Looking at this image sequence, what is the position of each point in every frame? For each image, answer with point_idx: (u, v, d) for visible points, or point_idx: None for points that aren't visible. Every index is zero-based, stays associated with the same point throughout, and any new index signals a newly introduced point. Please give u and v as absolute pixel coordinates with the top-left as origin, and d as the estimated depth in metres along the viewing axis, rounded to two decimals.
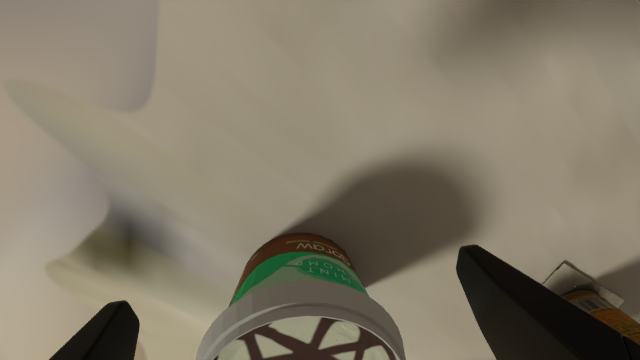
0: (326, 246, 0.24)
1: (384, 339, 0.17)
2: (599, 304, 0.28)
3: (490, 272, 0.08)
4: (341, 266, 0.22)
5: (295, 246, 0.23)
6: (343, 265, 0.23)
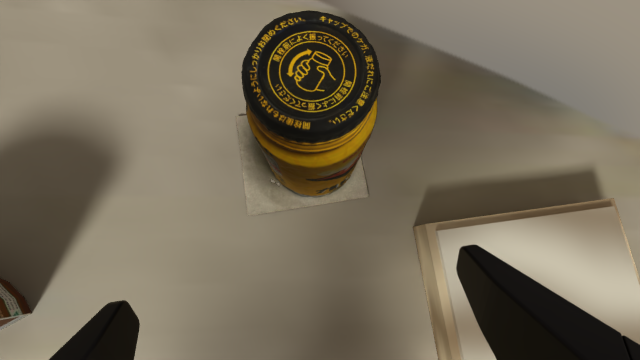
0: None
1: None
2: None
3: (490, 272, 0.08)
4: None
5: None
6: None
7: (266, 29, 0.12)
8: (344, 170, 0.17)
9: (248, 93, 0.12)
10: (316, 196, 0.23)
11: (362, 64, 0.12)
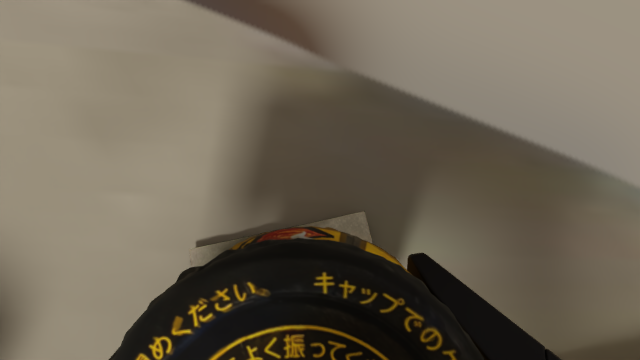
0: None
1: None
2: None
3: (430, 282, 0.08)
4: None
5: None
6: None
7: (145, 331, 0.04)
8: None
9: None
10: None
11: None
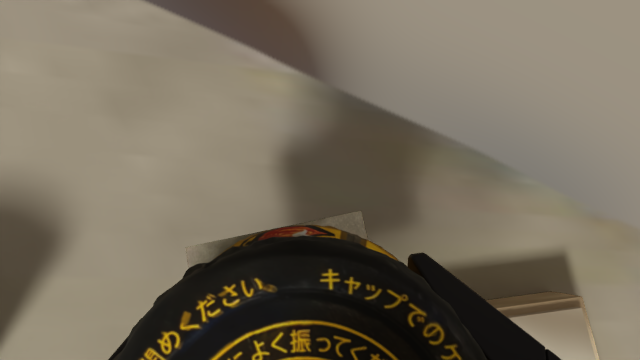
0: None
1: None
2: None
3: (431, 282, 0.08)
4: None
5: None
6: None
7: (154, 326, 0.04)
8: None
9: None
10: None
11: None
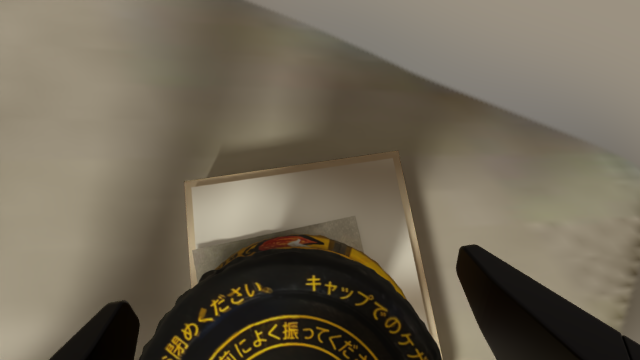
0: None
1: None
2: None
3: (490, 272, 0.08)
4: None
5: None
6: None
7: (178, 319, 0.05)
8: None
9: None
10: None
11: None
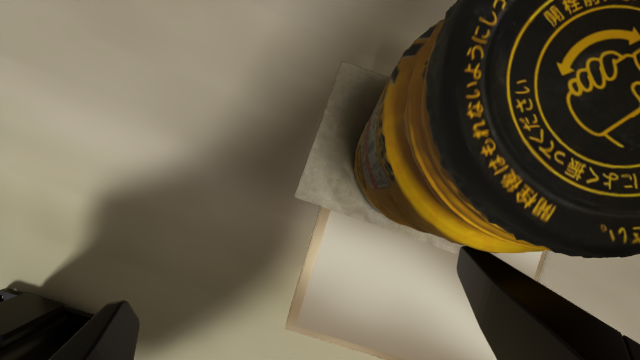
0: None
1: None
2: None
3: (490, 272, 0.08)
4: None
5: None
6: None
7: None
8: None
9: (448, 67, 0.05)
10: None
11: None
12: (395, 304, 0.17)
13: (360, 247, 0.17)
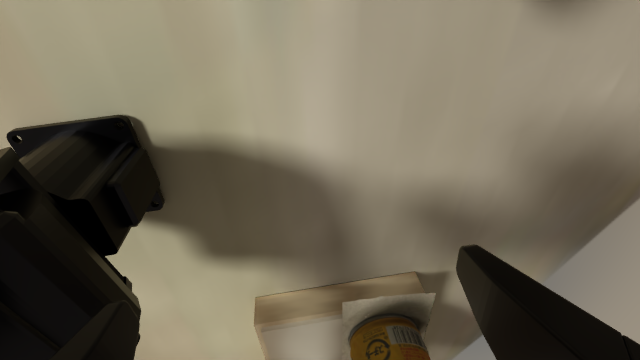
0: None
1: None
2: (423, 344, 0.26)
3: (490, 272, 0.08)
4: None
5: None
6: None
7: None
8: None
9: None
10: (349, 340, 0.28)
11: None
12: (301, 358, 0.29)
13: (324, 336, 0.27)
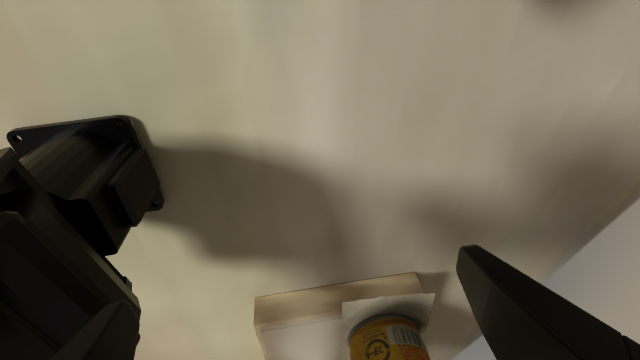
0: None
1: None
2: (422, 344, 0.26)
3: (490, 272, 0.08)
4: None
5: None
6: None
7: None
8: None
9: None
10: (348, 340, 0.28)
11: None
12: (300, 358, 0.29)
13: (324, 337, 0.27)
